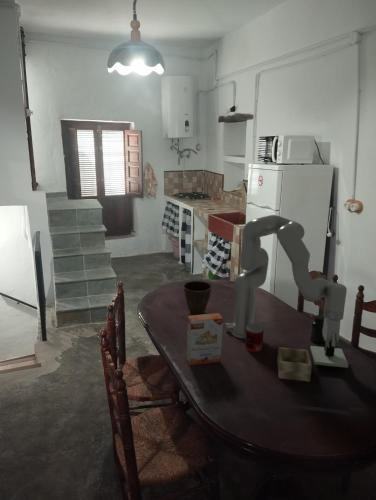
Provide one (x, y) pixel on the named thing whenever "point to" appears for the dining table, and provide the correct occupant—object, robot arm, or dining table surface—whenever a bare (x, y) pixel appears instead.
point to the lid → (328, 357)
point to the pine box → (294, 364)
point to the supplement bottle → (317, 329)
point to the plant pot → (197, 296)
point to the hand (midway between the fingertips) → (328, 352)
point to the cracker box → (204, 339)
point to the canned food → (254, 337)
